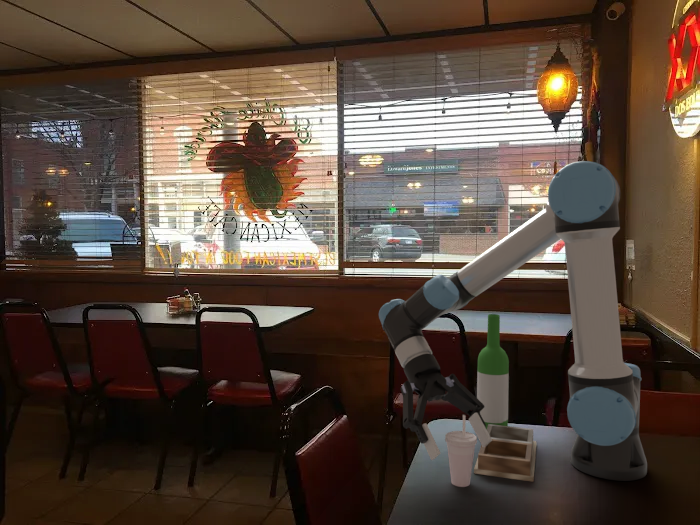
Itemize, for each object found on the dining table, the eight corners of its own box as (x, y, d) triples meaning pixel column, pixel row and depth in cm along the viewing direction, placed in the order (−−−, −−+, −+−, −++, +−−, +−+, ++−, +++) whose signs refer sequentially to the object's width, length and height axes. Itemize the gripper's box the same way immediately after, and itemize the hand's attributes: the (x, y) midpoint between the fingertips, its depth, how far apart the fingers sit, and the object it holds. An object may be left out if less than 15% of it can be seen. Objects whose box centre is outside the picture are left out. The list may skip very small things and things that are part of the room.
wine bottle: (513, 431, 146) (515, 315, 144) (496, 438, 141) (498, 318, 139) (487, 423, 152) (489, 311, 150) (470, 430, 146) (471, 314, 145)
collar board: (536, 445, 136) (536, 429, 136) (533, 481, 117) (533, 462, 116) (485, 439, 140) (485, 423, 140) (473, 473, 121) (474, 454, 120)
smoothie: (476, 491, 112) (477, 421, 112) (443, 488, 114) (444, 419, 113) (476, 477, 119) (477, 411, 118) (445, 474, 120) (445, 409, 119)
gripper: (453, 364, 136) (498, 447, 124) (364, 377, 123) (404, 471, 111) (468, 346, 131) (517, 430, 119) (377, 358, 118) (421, 453, 106)
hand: (462, 450), depth 115 cm, fingers open, 13 cm apart
